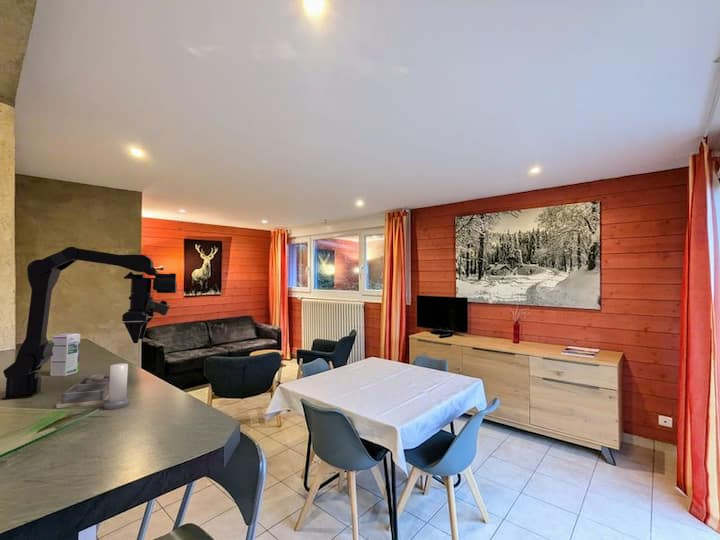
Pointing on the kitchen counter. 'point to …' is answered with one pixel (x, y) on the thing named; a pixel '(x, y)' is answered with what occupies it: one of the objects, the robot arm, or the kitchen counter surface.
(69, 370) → the syrup box
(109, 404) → the white bulb
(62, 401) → the grey compartment tray
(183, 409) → the kitchen counter surface
